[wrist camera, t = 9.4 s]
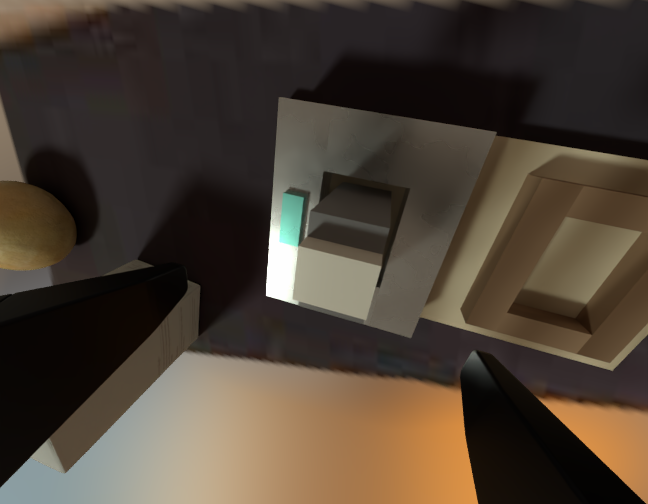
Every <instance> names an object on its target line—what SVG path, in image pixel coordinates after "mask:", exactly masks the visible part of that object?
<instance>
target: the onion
mask: <svg viewBox="0 0 648 504" xmlns="http://www.w3.org/2000/svg"><path fill="white" fill-rule="evenodd" d="M76 237H77V229H76V224H75V221H74V218H73V217H72V215H71V214H70V212H69V211H68V210H67V209H66V207H65V206H64V205H63V204H62V203H61V202H60V201H59V200H58V199H56V198H55V197H54V196H53V195H52V194H51V193H49V192H47V191H45V190H43V189H41V188H39V187H37V186H33V185H30V184H26V183H23V182H17V181H0V268H4V269H10V270H34V269H39V268H43V267H47V266H50V265H53V264H55V263H57V262H59V261H61V260H62V259H64V258H65V257H66V256H67V255H68V254H69V253H70V251H71V250H72V248H73V247H74V245H75V244H76Z"/></svg>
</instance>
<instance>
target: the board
mask: <svg viewBox="0 0 648 504" xmlns="http://www.w3.org/2000/svg"><path fill="white" fill-rule="evenodd" d="M528 174H530V175H535V176H541V177H546V178H552V179H557V180H563V181H568V182H574V183H579V184H585V185H590V186H596V187H601V188H607V189H612V190H618V191H623V192H629V193H634V194H640V195H645V196H648V160H643V159H637V158H630V157H624V156H618V155H612V154H606V153H600V152H594V151H588V150H581V149H575V148H569V147H563V146H557V145H551V144H545V143H538V142H532V141H526V140H520V139H514V138H508V137H502V136H496V135H495V138H494V140H493V143H492V145H491V147H490V150H489V152H488V155H487V157H486V159H485V162H484V164H483V167H482V169H481V171H480V174H479V176H478V179H477V181H476V183H475V186H474V188H473V190H472V193H471V195H470V198H469V200H468V202H467V205H466V207H465V210H464V212H463V214H462V217H461V219H460V222H459V224H458V226H457V229H456V231H455V234H454V236H453V238H452V241H451V243H450V246H449V248H448V250H447V253H446V255H445V258H444V260H443V262H442V265H441V267H440V269H439V272H438V274H437V277H436V279H435V281H434V284H433V286H432V289H431V291H430V293H429V296H428V298H427V301H426V303H425V305H424V308H423V310H422V313H421V315H420V317H422V318H426V319H429V320H433V321H436V322H440V323H444V324H447V325H451V326H454V327H458V328H462V329H465V330H469V331H472V332H476V333H479V334H483V335H487V336H490V337H494V338H497V339H501V340H504V341H508V342H512V343H515V344H519V345H522V346H526V347H530V348H533V349H537V350H540V351H544V352H547V353H551V354H555V355H558V356H562V357H565V358H569V359H573V360H576V361H580V362H583V363H587V364H590V365H594V366H598V367H601V368H605V369H608V370H613V369H614V368H615V367H616V366H617V365H618V364H619V363H620V362H621V361H622V360H623V359H624V358H625V357H626V356H627V355H628V354H629V353H630V352H631V351H632V350H633V349H634V348H635V347H636V346H637V345H638V344H639V343H640V342H641V341H642V340H643V339H644V338H645V337H646V336H647V335H648V324H647V325H646V326H645V327H644V328H643V329H642V330H641V331H640V332H639V333H638V334H637V335H636V336H635V337H634V338H633V340H632V341H631V342H630V343H629V344H628V345H627V346H626V347H625V348H624V349H623V350H622V351H621V352H620V353H619V354H618V355H617V356H616V357H615V358H614V360H613V361H612V362H611V363H607V362H603V361H600V360H596V359H593V358H589V357H585V356H582V355H578V354H574V353H571V352H567V351H564V350H560V349H556V348H553V347H549V346H545V345H542V344H538V343H535V342H531V341H527V340H524V339H520V338H516V337H513V336H509V335H506V334H502V333H498V332H495V331H491V330H487V329H484V328H480V327H477V326H473V325H469V324H466V323H465V321H464V318H463V315H462V313H461V310H460V308H461V306H462V304H463V302H464V300H465V298H466V296H467V294H468V292H469V290H470V288H471V286H472V284H473V282H474V280H475V278H476V276H477V274H478V272H479V270H480V268H481V266H482V264H483V262H484V260H485V258H486V256H487V254H488V252H489V250H490V248H491V246H492V244H493V242H494V240H495V238H496V236H497V234H498V232H499V230H500V228H501V226H502V224H503V222H504V220H505V218H506V216H507V214H508V212H509V210H510V208H511V206H512V204H513V202H514V200H515V198H516V197H517V195H518V193H519V191H520V189H521V187H522V185H523V183H524V181H525V179H526V177H527V175H528ZM342 182H347V183H352V184H357V185H362V186H367V187H372V188H377V189H382V190H387V191H392V193H391V215H390V230H389V233H388V237H387V241H386V244H385V248H384V251H383V256H382V266H383V263H384V259H385V256H386V253H387V249H388V246H389V243H390V239H391V236H392V233H393V229H394V226H395V223H396V219H397V216H398V213H399V209H400V206H401V203H402V199H403V196H404V192H405V189H406V188H405V187H400V186H395V185H390V184H385V183H380V182H375V181H370V180H365V179H360V178H356V177H351V176H346V175H341V174H336V173H332V179H331V185H330V191H329V194H330V193H331V192H332V191H333V190H334V189H335V188H337V187H338V186H339V185H340V184H341V183H342ZM641 233H642V232H639V231H634V230H629V229H624V228H619V227H614V226H609V225H604V224H599V223H594V222H589V221H584V220H579V219H574V218H569V217H565V218H564V220H563V221H562V223H561V225H560V226H559V228H558V230H557V231H556V233H555V234H554V236H553V238H552V239H551V241H550V243H549V244H548V246H547V248H546V249H545V251H544V253H543V254H542V256H541V257H540V259H539V261H538V262H537V264H536V266H535V267H534V269H533V271H532V272H531V274H530V275H529V277H528V279H527V280H526V282H525V284H524V285H523V287H522V289H521V290H520V292H519V293H518V295H517V297H516V298H515V300H514V302H513V303H517V304H521V305H525V306H529V307H533V308H537V309H541V310H545V311H548V312H552V313H556V314H560V315H564V316H568V317H572V318H576V317H577V316H578V314H579V313H580V312H581V310H582V309H583V308H584V307H585V305H586V304H587V303H588V301H589V300H590V299H591V298H592V296H593V295H594V294H595V292H596V291H597V290H598V288H599V287H600V286H601V285H602V283H603V282H604V281H605V279H606V278H607V277H608V276H609V274H610V273H611V272H612V270H613V269H614V268H615V267H616V265H617V264H618V263H619V261H620V260H621V259H622V258H623V256H624V255H625V254H626V252H627V251H628V250H629V248H630V247H631V246H632V245H633V243H634V242H635V241H636V239H637V238H638V237H639V236H640V234H641ZM382 266H381V269H382Z"/></svg>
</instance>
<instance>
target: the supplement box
mask: <svg viewBox="0 0 648 504" xmlns="http://www.w3.org/2000/svg"><path fill="white" fill-rule="evenodd" d="M146 267H152V265H150V264H147V263H145V262H142V261H139V260H134V261H131V262H129V263H127V264H125V265H123V266H121V267H119V268H117V269H115V270H113V271H111V272H109V273H107V274H105V275H111V274H116V273H121V272H126V271H131V270H136V269H141V268H146ZM105 275H103V276H105ZM199 305H200V285H198V284H196V283H193V282H191V281H189V280H188V290H187V292H186V294H185V295H184V296H183V298H182V299H181V300H180V301H179V302H178V304H177V305H176V306H175V307H174V309H173V310H172V311H171V312H170V313H169V315H168V316H167V317H166V318H165V319H164V321H163V322H162V323H161V324H160V325H159V327H158V328H157V329H156V330H155V331H154V332H153V333H152V334H151V335H150V337H149V338H148V339H147V340H146V341H145V342H144V343H143V344H142V345H141V346H140V347H139V348H138V349H137V350H136V351H135V352H134V353H133V354H132V355H131V356H130V357H129V358H128V359H127V360H126V361H125V362H124V363H123V364H122V365H121V366H120V367H119V368H118V369H117V370H116V371H115V372H114V373H113V374H112V375H111V376H110V377H109V378H108V379H107V380H106V381H105V382H104V383H103V384H102V385H101V386H100V387H99V388H98V389H97V390H96V391H95V392H94V393H93V394H92V395H91V396H90V397H89V398H88V399H87V400H86V401H85V402H84V403H83V404H82V405H81V406H80V407H79V408H78V409H77V410H76V411H75V412H74V414H73V415H72V416H71V417H70V418H69V419H68V420H67V421H66V422H65V423H64V424H63V425H62V426H61V427H60V428H59V429H58V430H57V431H56V432H55V433H54V434H53V435H52V436H51V437H50V438H49V439H48V440H47V441H46V442H45V443H44V444H43V445H42V446H41V447H40V448H39V449H38V450H37V451H36V452H35V453H34V454H33V455H32V456H31V457H30V458H32V459H34V460H36V461H38V462H40V463H42V464H44V465H46V466H48V467H50V468H53V469H55V470H57V471H59V472H61V473H66V472H67V471H68V470H69V469H70V468H71V467H72V466H73V465H74V464H75V463H76V462H77V461H78V460H79V459H80V458H81V457H82V456H83V455H84V454H85V453H86V452H87V451H88V450H89V449H90V448H91V447H92V446H93V445H94V443H96V442H97V440H99V439H100V437H101V436H102V435H103V434H104V433H105V432H106V431H107V430H108V429H109V428H110V427H111V426H112V425H113V424H114V423H115V422H116V421H117V420H118V419H119V418H120V417H121V416H122V415H123V414H124V413H125V412H126V411H127V409H129V408H130V406H131V405H132V404H133V403H134V402H135V401H136V400H137V399H138V398H139V397H140V396H141V395H142V394H143V393H144V392H145V391H146V390H147V389H148V388H149V387H150V386H151V385H152V384H153V383H154V382H155V381H156V380H157V378H159V377H160V375H161V374H162V373H163V372H164V371H165V370H166V369H167V368H168V367H169V366H170V365H171V364H172V363H173V362H174V361H175V360H176V359H177V358H178V357H179V356H180V355H181V354H182V353H183V352H184V351H185V350H186V349H187V348H188V347H189V346H190V345H191V344H192V343H193V342H194V341H195V340H196V339H197V338H198V330H199Z"/></svg>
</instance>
